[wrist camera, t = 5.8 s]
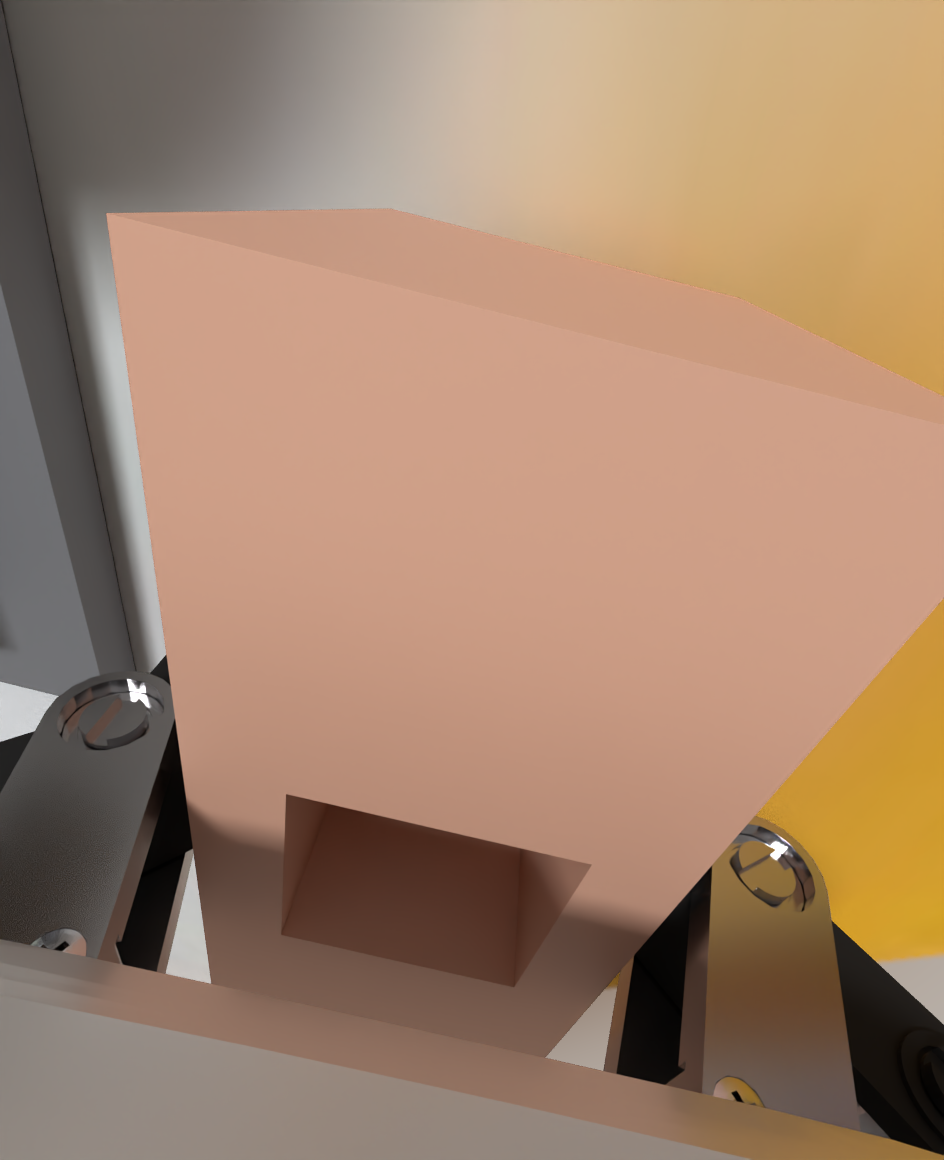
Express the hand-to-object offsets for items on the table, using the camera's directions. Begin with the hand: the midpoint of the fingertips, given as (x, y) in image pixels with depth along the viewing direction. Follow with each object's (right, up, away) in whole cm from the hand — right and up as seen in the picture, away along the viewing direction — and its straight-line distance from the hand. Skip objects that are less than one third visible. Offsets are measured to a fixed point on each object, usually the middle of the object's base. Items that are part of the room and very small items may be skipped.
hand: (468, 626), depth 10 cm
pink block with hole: (0, +1, +1) cm, 1 cm away
